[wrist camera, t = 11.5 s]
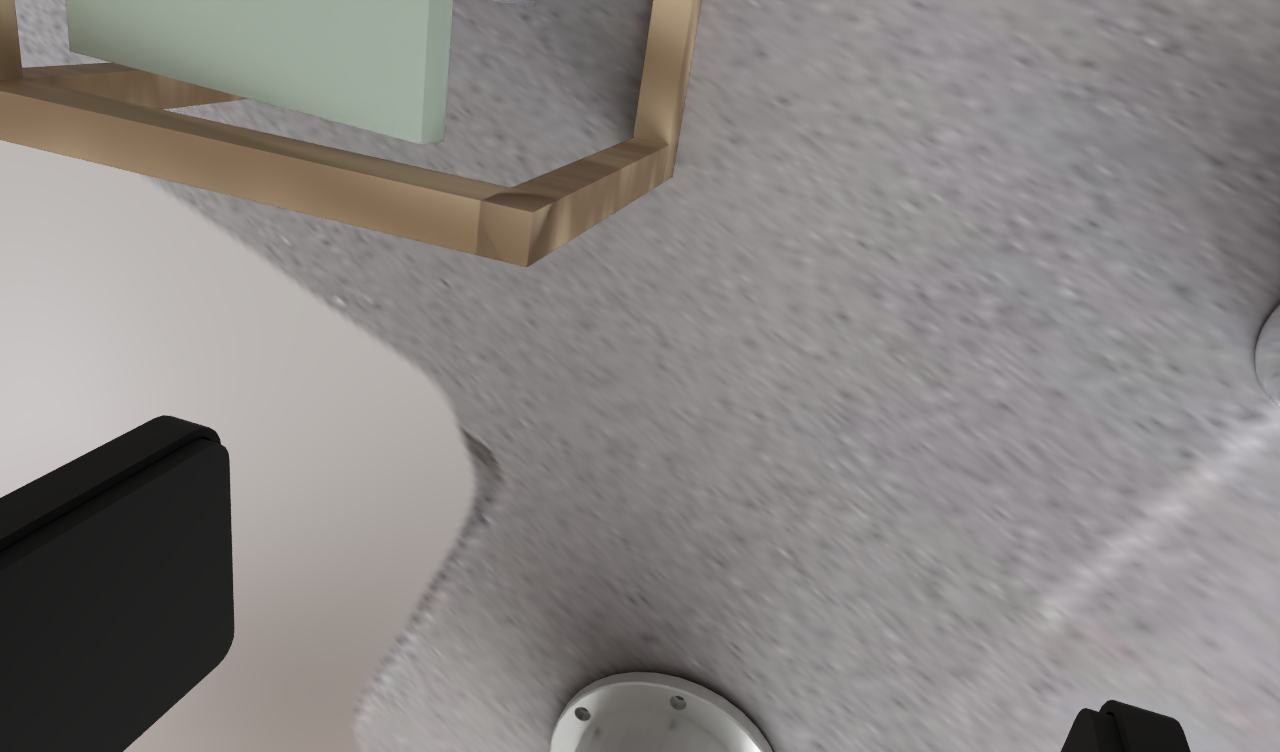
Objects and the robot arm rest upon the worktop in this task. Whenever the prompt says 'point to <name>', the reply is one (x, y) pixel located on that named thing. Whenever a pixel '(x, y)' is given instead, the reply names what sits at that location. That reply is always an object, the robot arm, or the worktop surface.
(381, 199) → the frame
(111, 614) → the robot arm
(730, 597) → the worktop surface
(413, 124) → the trapdoor
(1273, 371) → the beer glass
